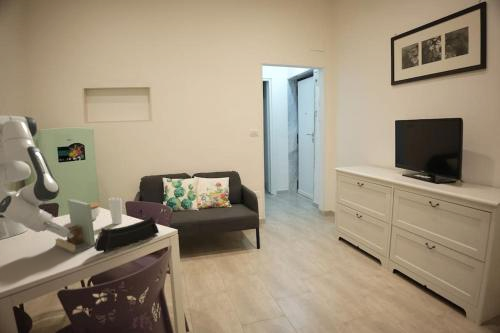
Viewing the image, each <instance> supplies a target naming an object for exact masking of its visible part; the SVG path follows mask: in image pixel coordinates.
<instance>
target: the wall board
mask: <svg viewBox="0 0 500 333" xmlns="http://www.w3.org/2000/svg"><path fill="white" fill-rule="evenodd" d="M89 203H90V202H89ZM89 203H87V202H85V201H82V200H78V199H72V198H71V199H67V204H68V212H69V213H68V214H69V220H70V227H72V226H75V225H78V226H81V227H82V232H83V240H84V243H81V244H78V245H74V244H72V243H69V242H68V241H67V239H65V240H64V239H62V238H60V237H57V238H55V244H54V245H55V246H56V247H57V248H60V249H62V250H65V251H67V252H69V253H71V254H73V255H75V254H77V253H79V252H82V251H85V250H87V249H89V248H90V249H91V248H93V247H95V242H96V238H95V231H94V224H93V223H94V222H93V221H94V220H92V213H91V205H90V204H89Z"/></svg>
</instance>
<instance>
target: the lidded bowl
mask: <svg viewBox="0 0 500 333" xmlns="http://www.w3.org/2000/svg"><path fill="white" fill-rule="evenodd" d="M86 203H89V204H90V205H91V213H92V221H95V220H96V219H97V218H98V217H99V215H100V211H101V208H100V207H101V205H100V203H99V202H89V201H87V202H86Z"/></svg>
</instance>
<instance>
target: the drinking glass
mask: <svg viewBox="0 0 500 333" xmlns="http://www.w3.org/2000/svg"><path fill="white" fill-rule="evenodd" d="M108 206H109V207H108V208H109V211H110V218H111V223H112V224H113V225H119V224H120V225H121V224H122V223H123V204H122V198H121V197H119V196H118V197H117V196H116V197H111V198H108Z"/></svg>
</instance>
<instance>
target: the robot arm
mask: <svg viewBox="0 0 500 333" xmlns="http://www.w3.org/2000/svg"><path fill="white" fill-rule="evenodd" d="M37 134H38V124H37V122H36V119H34V118H33V117H31V116H30V117H29V116H19V115H10V114H9V115H0V240H4V239H7V238H10V237H13V236H17V235H20V234H22V233H25V232H26V231H28V229H29V230H31V231H33V232H35V233H40V232H45V231H47V232H51V233H53V234H55V235H57V236H59V237H61V238H62V237H63V238H67V237H69V238H72V237H73V236H74V235H73V234H71V233H69V232H70V230H69V229H67V228H68V227H65V226H63V225H61V224H59V223H56V222H54V219H53V218H52V217H53V216H52V214H51V213H49V212H48V211H45V210H43V209H41V208H39V207H40V205H41V204H44V203H45V202H48V201H52V200H55V199H56V198H57V197H58V196H59V194H60V185H59V184H58V181H57V180H56V178H54V175H53V173H52V171H51V169H50V167H49V164H48V162H47V160H46V158H45V155H44V153H43V152H42V150H41V149H40V148H39V147H38V146H36V145H35V142H34V140H33V139H34V138H33V137H35V135H37ZM27 162H28V163H29V164H30V166H31V167H30V166H29V164H27ZM31 169H32V170H31ZM32 172H33V173H34V177H35V179H34V181H33V182H31V183H30V184H27V185H25V186H23V187H21V188H20V189H18V190H17V191H16V190H13V189H9V188H5V186H4V184H10V183H14V182H15V183H16V182H21V181H23V180H26V179H29V177H30V176H31V173H32Z"/></svg>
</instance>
